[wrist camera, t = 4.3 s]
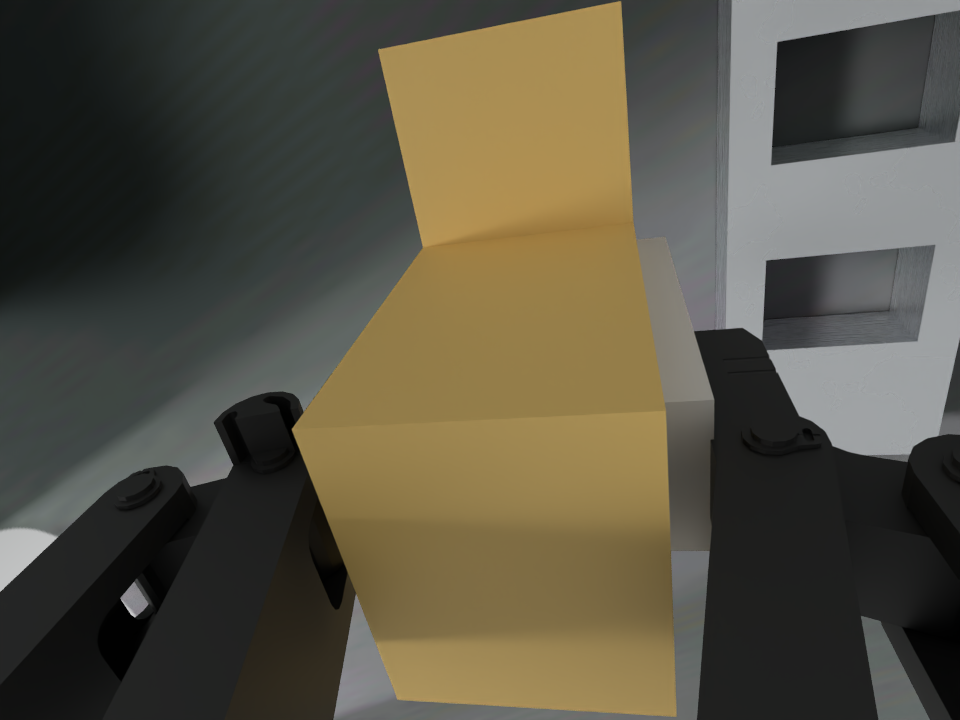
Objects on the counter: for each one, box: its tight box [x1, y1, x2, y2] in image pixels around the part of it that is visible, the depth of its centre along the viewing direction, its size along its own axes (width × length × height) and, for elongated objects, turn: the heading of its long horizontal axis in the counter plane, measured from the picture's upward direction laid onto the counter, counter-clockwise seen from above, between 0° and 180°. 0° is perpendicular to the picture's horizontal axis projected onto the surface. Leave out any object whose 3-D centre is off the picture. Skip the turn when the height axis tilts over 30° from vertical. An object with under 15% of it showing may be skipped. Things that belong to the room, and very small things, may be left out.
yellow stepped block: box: [292, 1, 677, 717], centre depth 13 cm, size 12×4×12 cm, turn 10°
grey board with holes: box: [715, 0, 960, 455], centre depth 24 cm, size 9×24×3 cm, turn 10°
